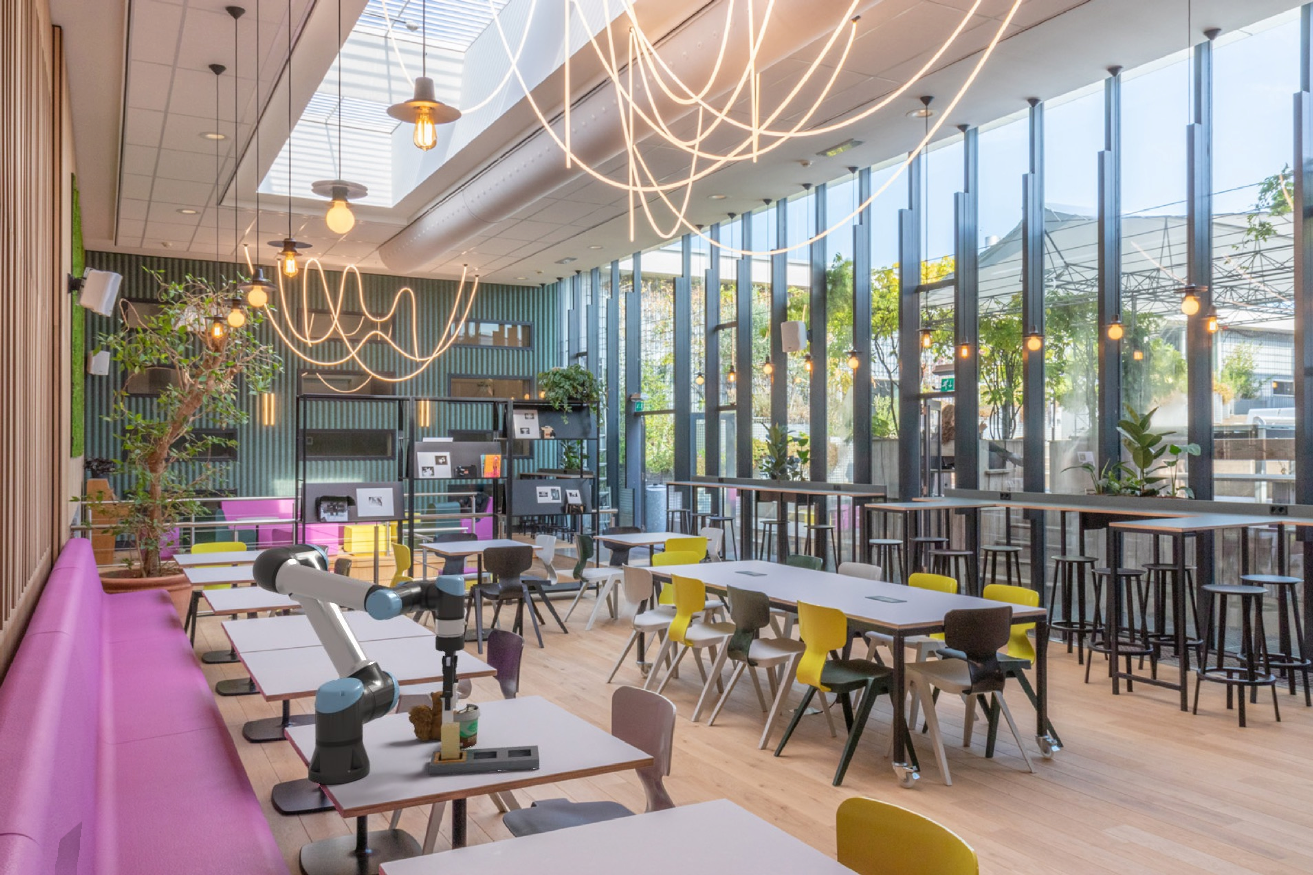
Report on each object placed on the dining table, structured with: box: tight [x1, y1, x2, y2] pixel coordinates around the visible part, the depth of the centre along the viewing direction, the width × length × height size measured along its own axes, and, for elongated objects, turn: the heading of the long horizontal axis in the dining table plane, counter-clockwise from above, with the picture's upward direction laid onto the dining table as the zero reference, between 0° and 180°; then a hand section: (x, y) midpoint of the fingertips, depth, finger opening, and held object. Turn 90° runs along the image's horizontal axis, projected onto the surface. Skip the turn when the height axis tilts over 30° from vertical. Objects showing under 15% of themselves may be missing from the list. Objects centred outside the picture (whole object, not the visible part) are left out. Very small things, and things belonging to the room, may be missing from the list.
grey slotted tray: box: [428, 745, 540, 776], centre depth 248 cm, size 28×12×3 cm, turn 99°
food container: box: [453, 703, 482, 749], centre depth 266 cm, size 12×6×10 cm, turn 168°
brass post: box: [440, 722, 461, 761], centre depth 246 cm, size 4×4×11 cm
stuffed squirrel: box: [407, 690, 459, 743], centre depth 273 cm, size 10×14×13 cm
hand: (449, 715), depth 247 cm, fingers open, 13 cm apart
